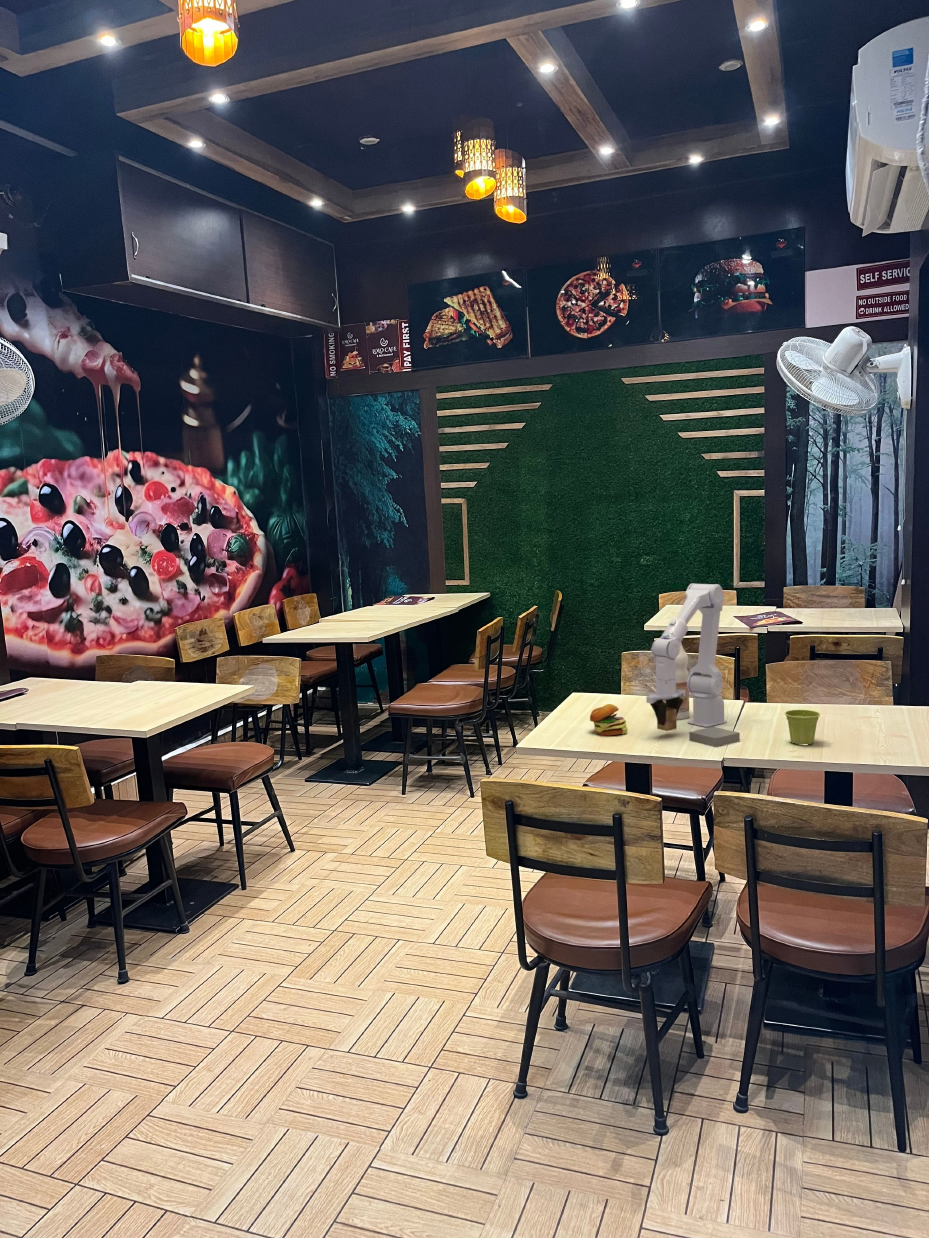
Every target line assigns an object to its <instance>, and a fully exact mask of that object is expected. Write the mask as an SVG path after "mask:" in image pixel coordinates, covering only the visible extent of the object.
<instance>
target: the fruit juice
mask: <svg viewBox="0 0 929 1238" xmlns="http://www.w3.org/2000/svg"><path fill="white" fill-rule="evenodd" d="M680 643H681V646H680V651H679V655H678V656H677V657H676V658H675V663H676V690H679V689H682V690H686V696H685V697H682V696H681V697H679V698H681V699H683V703H682V704H681V706H680V708H679V711H678V714H677V718H676V719H677V721H678V720H685V719H688V718H690V717H689V716H690V692H689V690H688V688H687V680H688V678H689V675H690V673H689V671H688V668H687V666H688V664H689V656H688V653H687V652H686V650H685V649H684V646H683V644H682V641H681V642H680ZM663 702H664V703H666V701H665V700H663Z"/></svg>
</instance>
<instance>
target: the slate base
mask: <svg viewBox="0 0 929 1238" xmlns="http://www.w3.org/2000/svg"><path fill="white" fill-rule="evenodd" d="M688 733H689V736H688V737H689V739H688V741H689V742H692V743H693V742H694V743H698V744H701V745H704V746H705V745H706V746H708V747H709V746H710V747H713V748H718V747H722V746H727V745H731V744H735V743H738V742H741V740H740V738H741V737H740V735H741V733H740V732H739V731H733V730H729V729H725V728H720V727H716V726H709V727H704V728H702V729H695V730H693V731H689V732H688Z"/></svg>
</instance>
